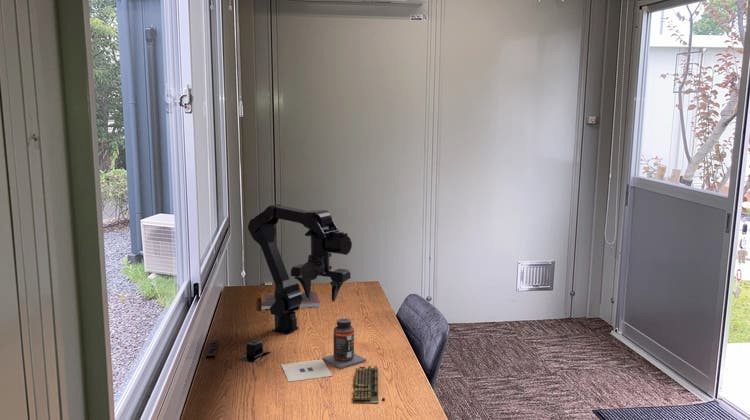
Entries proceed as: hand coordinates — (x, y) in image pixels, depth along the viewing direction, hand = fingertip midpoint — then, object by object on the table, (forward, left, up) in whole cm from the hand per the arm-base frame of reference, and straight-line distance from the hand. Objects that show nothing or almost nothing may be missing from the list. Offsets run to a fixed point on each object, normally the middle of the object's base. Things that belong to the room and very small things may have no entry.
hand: (320, 299), depth 192 cm
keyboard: (+29, -24, -14) cm, 40 cm away
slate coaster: (+15, -12, -13) cm, 23 cm away
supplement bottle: (+15, -12, -13) cm, 23 cm away
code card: (+9, -23, -13) cm, 28 cm away
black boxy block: (-11, -20, -14) cm, 27 cm away
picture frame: (-32, +29, -14) cm, 45 cm away
